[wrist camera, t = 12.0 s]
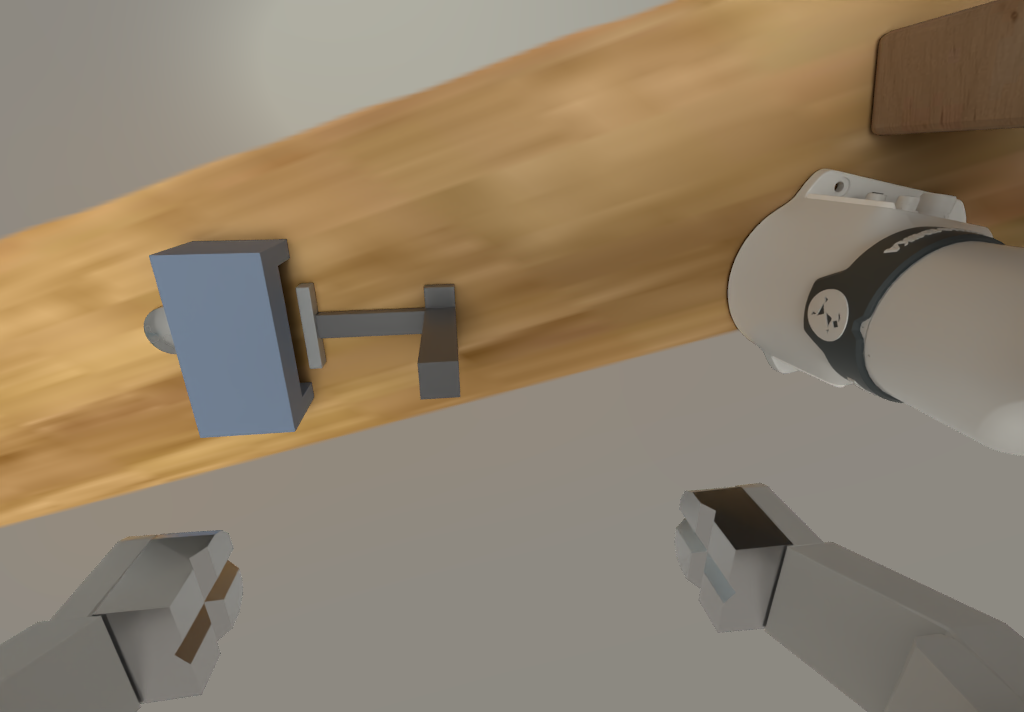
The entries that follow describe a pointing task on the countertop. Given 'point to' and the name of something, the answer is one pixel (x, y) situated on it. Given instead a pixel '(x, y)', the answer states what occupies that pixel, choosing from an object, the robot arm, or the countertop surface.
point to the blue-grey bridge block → (233, 335)
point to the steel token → (159, 331)
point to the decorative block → (953, 73)
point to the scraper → (431, 322)
